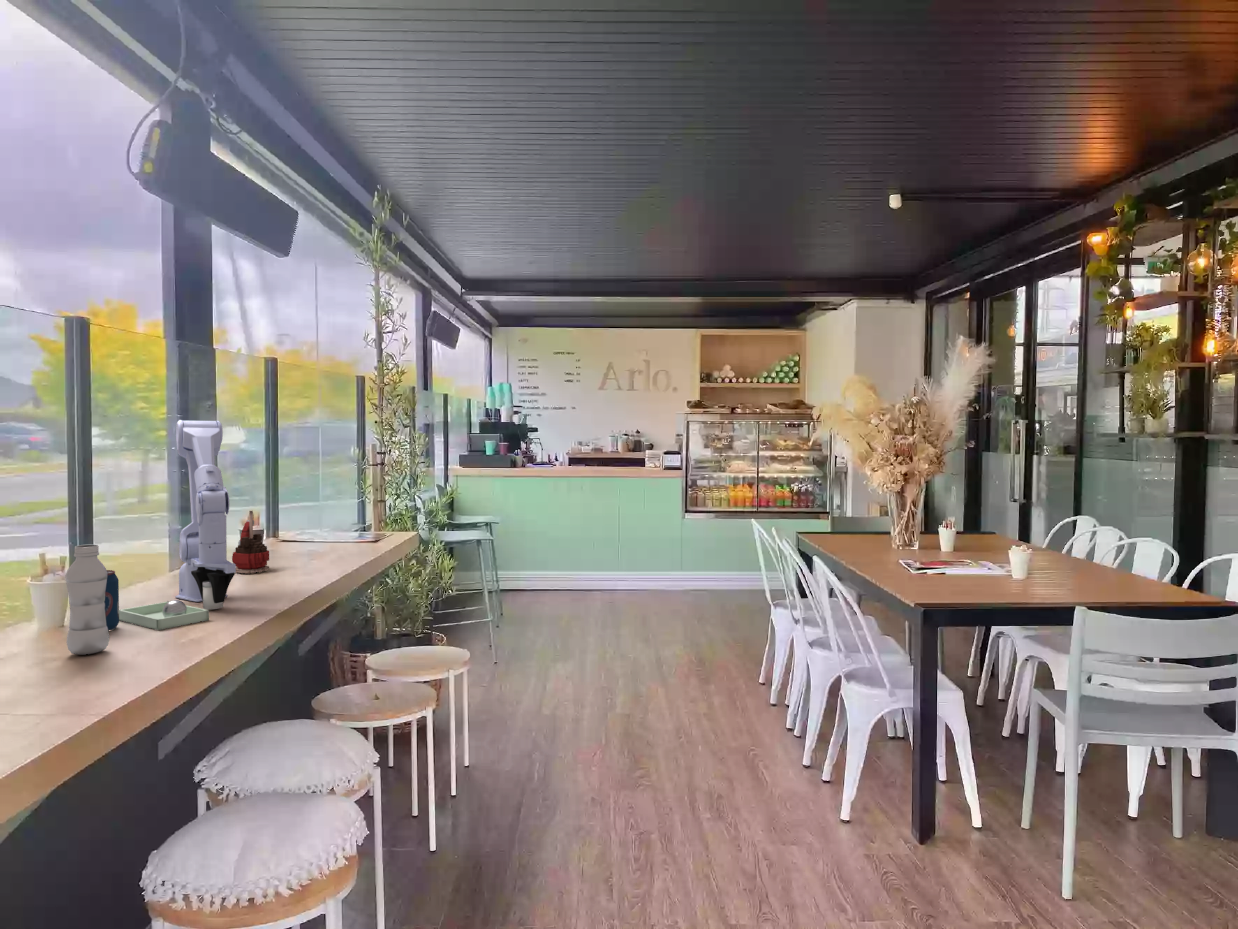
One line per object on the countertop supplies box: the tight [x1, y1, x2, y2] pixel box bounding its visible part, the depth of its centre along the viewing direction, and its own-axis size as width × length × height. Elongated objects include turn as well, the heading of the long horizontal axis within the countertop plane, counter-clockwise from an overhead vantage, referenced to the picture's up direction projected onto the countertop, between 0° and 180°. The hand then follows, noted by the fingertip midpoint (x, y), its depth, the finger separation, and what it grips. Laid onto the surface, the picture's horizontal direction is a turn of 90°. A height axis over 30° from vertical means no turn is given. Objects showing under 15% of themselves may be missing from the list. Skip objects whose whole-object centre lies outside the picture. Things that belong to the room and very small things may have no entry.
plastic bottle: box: [64, 544, 110, 656], centre depth 148 cm, size 6×7×20 cm
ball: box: [162, 599, 187, 618], centre depth 173 cm, size 5×5×5 cm
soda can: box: [104, 569, 120, 632], centre depth 166 cm, size 7×7×12 cm
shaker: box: [202, 580, 224, 610], centre depth 186 cm, size 4×4×6 cm
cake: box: [231, 510, 270, 575], centre depth 235 cm, size 11×9×18 cm
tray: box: [119, 600, 210, 631], centre depth 175 cm, size 16×11×2 cm
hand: (213, 601), depth 186 cm, fingers closed on shaker, 4 cm apart
